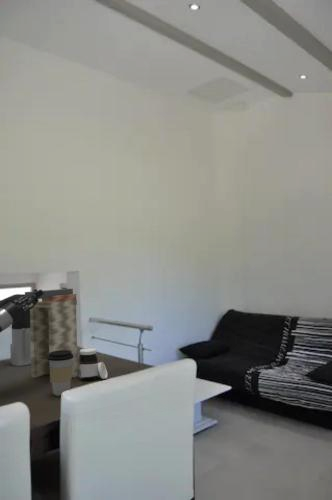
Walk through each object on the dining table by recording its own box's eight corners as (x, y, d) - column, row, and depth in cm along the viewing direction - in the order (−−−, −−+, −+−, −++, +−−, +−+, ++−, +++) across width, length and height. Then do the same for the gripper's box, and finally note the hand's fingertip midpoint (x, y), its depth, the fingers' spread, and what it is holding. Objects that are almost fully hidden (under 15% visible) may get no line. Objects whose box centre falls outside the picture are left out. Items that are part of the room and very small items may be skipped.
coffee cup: (79, 390, 160) (78, 350, 160) (65, 398, 151) (64, 355, 151) (57, 388, 163) (56, 349, 163) (42, 396, 154) (41, 354, 155)
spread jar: (77, 376, 180) (76, 348, 180) (103, 373, 184) (103, 345, 184) (82, 383, 169) (81, 354, 169) (110, 380, 173) (109, 351, 173)
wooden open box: (52, 383, 171) (50, 296, 171) (30, 376, 181) (28, 295, 182) (78, 375, 180) (76, 294, 181) (56, 370, 191) (54, 293, 192)
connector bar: (29, 300, 167) (28, 292, 167) (24, 299, 169) (24, 292, 169) (72, 295, 183) (72, 288, 183) (68, 295, 185) (68, 288, 185)
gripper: (10, 309, 155) (45, 283, 166) (-9, 307, 164) (25, 283, 175) (20, 326, 157) (54, 299, 169) (0, 323, 166) (34, 298, 178)
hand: (39, 291), depth 172 cm, fingers closed on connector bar, 3 cm apart
